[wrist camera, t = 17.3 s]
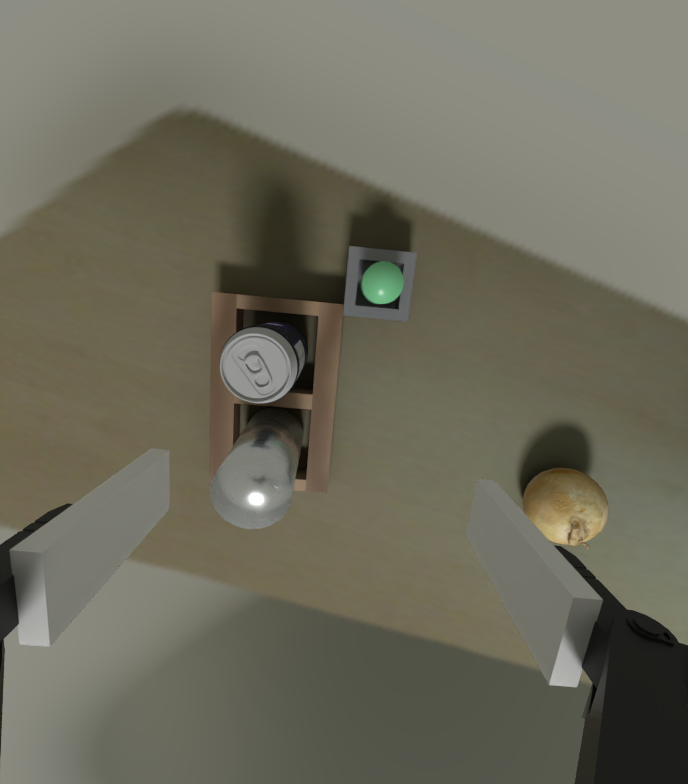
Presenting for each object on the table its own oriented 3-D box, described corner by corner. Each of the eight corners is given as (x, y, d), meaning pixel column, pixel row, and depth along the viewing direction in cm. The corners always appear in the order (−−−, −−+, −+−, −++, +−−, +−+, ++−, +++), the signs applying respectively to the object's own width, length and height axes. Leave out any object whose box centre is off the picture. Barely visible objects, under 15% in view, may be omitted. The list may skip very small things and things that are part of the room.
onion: (508, 468, 40) (544, 501, 34) (578, 451, 40) (629, 481, 33) (518, 530, 42) (554, 573, 35) (585, 514, 42) (635, 554, 35)
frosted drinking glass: (306, 411, 38) (296, 461, 26) (299, 463, 39) (287, 532, 28) (248, 403, 38) (212, 451, 26) (244, 457, 39) (207, 524, 27)
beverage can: (293, 311, 36) (274, 312, 24) (317, 363, 37) (310, 388, 25) (241, 335, 36) (198, 347, 24) (267, 386, 37) (238, 421, 26)
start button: (399, 267, 33) (406, 263, 30) (394, 305, 34) (400, 305, 31) (362, 263, 33) (365, 259, 30) (358, 302, 33) (360, 301, 30)
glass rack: (343, 304, 36) (344, 304, 33) (327, 481, 40) (327, 492, 38) (220, 293, 35) (211, 291, 33) (217, 473, 39) (209, 484, 37)
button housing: (409, 257, 35) (416, 252, 32) (401, 320, 36) (407, 321, 33) (347, 251, 35) (349, 245, 32) (342, 315, 36) (343, 315, 33)
